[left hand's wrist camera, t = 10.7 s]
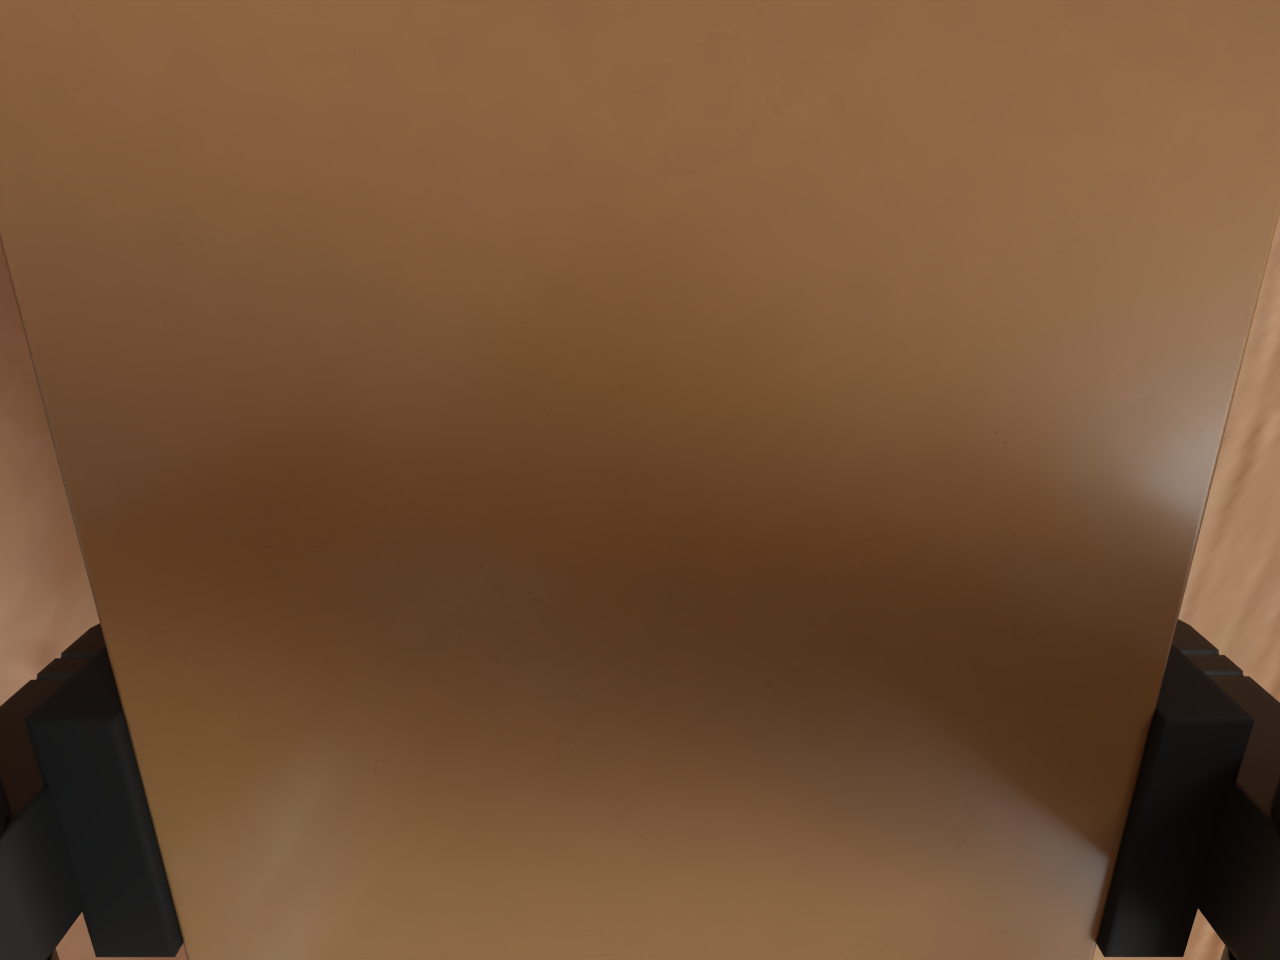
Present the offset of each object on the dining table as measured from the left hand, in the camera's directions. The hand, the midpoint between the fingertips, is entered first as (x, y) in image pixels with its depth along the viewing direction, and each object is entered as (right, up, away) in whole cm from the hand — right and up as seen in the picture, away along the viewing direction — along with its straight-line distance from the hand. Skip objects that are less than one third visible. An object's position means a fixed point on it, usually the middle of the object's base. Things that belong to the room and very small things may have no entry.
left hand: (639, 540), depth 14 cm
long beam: (0, +20, -7) cm, 22 cm away
